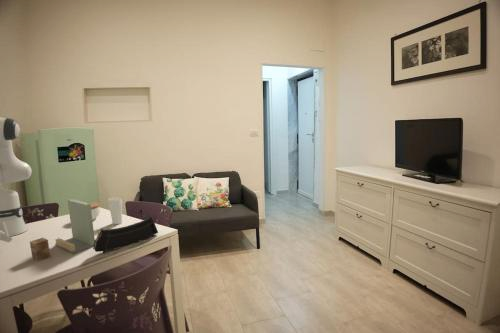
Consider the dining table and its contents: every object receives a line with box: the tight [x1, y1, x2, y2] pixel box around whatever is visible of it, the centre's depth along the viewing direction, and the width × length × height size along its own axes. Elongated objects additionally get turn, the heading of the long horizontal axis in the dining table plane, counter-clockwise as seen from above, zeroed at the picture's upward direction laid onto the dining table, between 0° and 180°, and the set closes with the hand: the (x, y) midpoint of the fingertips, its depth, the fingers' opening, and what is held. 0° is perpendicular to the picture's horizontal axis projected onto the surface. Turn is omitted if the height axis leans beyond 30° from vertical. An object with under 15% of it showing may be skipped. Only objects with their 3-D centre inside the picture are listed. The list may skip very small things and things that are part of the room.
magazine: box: [92, 216, 159, 254], centre depth 137 cm, size 17×3×30 cm
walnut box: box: [29, 237, 51, 262], centre depth 124 cm, size 6×5×8 cm
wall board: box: [54, 198, 96, 255], centre depth 135 cm, size 10×18×21 cm, turn 57°
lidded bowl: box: [86, 201, 101, 221], centre depth 174 cm, size 13×13×11 cm
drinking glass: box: [108, 196, 123, 225], centre depth 166 cm, size 7×7×15 cm
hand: (6, 238), depth 114 cm, fingers open, 8 cm apart
